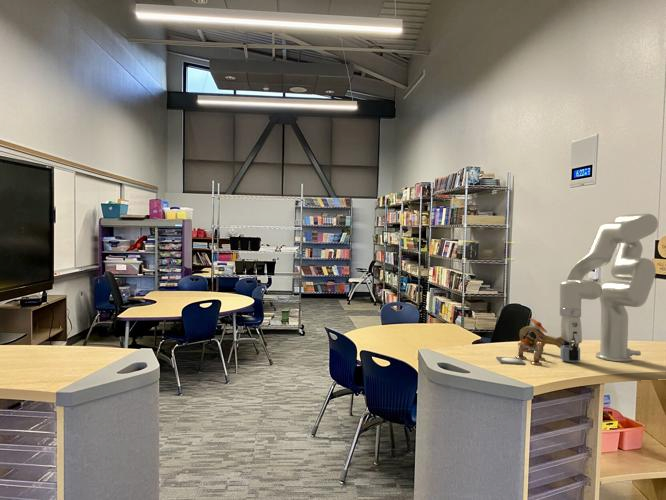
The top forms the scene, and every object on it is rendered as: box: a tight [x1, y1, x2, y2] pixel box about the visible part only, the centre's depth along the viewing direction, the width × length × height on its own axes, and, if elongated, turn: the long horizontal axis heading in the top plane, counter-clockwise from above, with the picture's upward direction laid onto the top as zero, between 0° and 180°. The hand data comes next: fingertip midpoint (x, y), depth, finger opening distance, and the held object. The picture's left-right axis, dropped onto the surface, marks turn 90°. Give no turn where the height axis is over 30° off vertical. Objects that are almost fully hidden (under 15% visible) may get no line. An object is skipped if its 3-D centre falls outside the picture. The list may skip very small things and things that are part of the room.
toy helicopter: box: [517, 318, 563, 352], centre depth 200 cm, size 8×21×14 cm, turn 39°
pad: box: [495, 356, 527, 366], centre depth 182 cm, size 9×9×1 cm
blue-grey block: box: [560, 345, 581, 363], centre depth 184 cm, size 6×6×5 cm
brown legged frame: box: [514, 340, 545, 366], centre depth 184 cm, size 11×13×7 cm
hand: (570, 357), depth 184 cm, fingers closed on blue-grey block, 6 cm apart
